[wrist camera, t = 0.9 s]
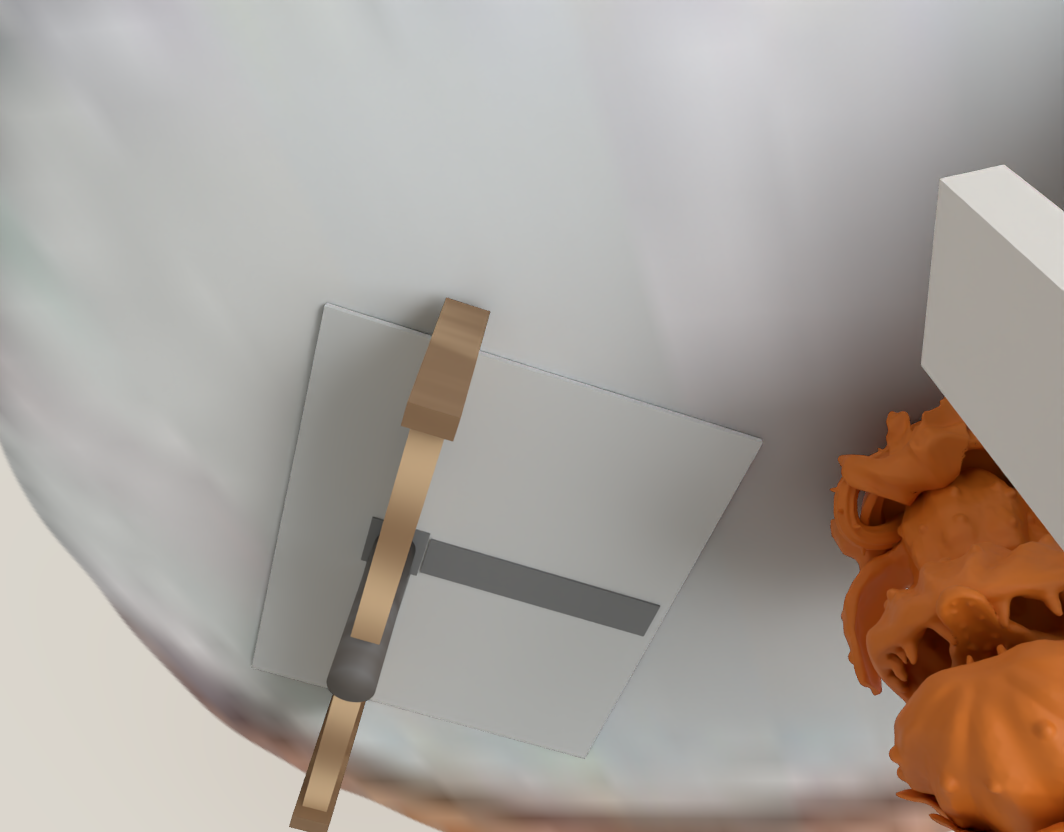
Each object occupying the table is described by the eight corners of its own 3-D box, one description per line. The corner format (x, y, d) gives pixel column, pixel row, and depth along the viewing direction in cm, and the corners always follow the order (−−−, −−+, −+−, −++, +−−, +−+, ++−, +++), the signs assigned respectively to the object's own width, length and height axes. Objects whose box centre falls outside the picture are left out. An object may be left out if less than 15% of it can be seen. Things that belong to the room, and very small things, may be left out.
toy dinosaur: (1025, 302, 34) (1264, 684, 20) (1133, 499, 38) (1401, 941, 23) (759, 432, 39) (790, 814, 25) (880, 594, 43) (969, 1009, 28)
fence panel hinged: (419, 532, 43) (383, 658, 37) (382, 521, 43) (339, 646, 36) (490, 311, 36) (460, 418, 30) (446, 297, 36) (407, 401, 30)
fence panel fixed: (379, 525, 43) (330, 663, 36) (420, 536, 43) (380, 676, 36) (329, 698, 50) (281, 842, 43) (365, 708, 51) (323, 852, 44)
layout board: (761, 439, 39) (763, 444, 39) (584, 754, 52) (584, 760, 51) (326, 302, 37) (323, 307, 37) (253, 663, 50) (250, 669, 50)
